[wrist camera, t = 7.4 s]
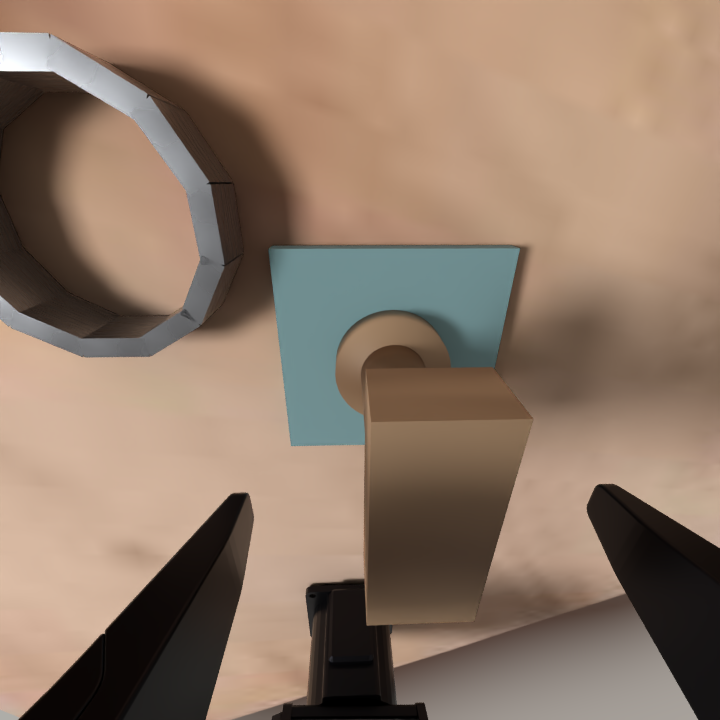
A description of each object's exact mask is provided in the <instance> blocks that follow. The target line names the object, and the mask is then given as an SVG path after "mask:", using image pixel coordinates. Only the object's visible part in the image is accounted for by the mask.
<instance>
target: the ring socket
mask: <svg viewBox="0 0 720 720" xmlns="http://www.w3.org/2000/svg"><path fill="white" fill-rule="evenodd" d="M44 92H89V93H90V94H92V95H94V96H95V97H97V98H99V99H101V100H102V101H104V102H106V103H107V104H109V105H111V106H112V107H114V108H116V109H117V110H119V111H121V112H122V113H124V114H126V115H127V116H129V117H131V118H133V119H134V120H135V121H136V123H137V124H138V126H139V127H140V128H141V130H142V131H143V132H144V134H145V135H146V136H147V138H148V139H149V141H150V142H151V143H152V145H153V146H154V147H155V149H156V150H157V152H158V153H159V154H160V156H161V157H162V158H163V160H164V161H165V162H166V164H167V165H168V167H169V168H170V169H171V171H172V172H173V173H174V175H175V176H176V178H177V179H178V180H179V182H180V183H181V184H182V186H183V187H184V188H185V190H186V193H187V198H188V202H189V207H190V212H191V217H192V222H193V227H194V231H195V236H196V241H197V246H198V251H199V256H200V262H199V265H198V267H197V270H196V273H195V276H194V278H193V281H192V284H191V287H190V289H189V292H188V295H187V298H186V300H185V303H184V306H183V307H182V308H180V309H179V310H177V311H175V312H174V313H172V314H171V315H169V316H119V315H117V314H115V313H113V312H110V311H108V310H106V309H104V308H101V307H99V306H97V305H95V304H92V303H90V302H88V301H86V300H83V299H81V298H79V297H77V296H75V295H72V294H70V293H68V292H67V291H66V290H65V289H64V288H63V287H62V286H61V285H60V284H59V283H58V282H57V281H56V280H55V279H54V278H53V277H52V276H51V275H50V274H49V273H48V272H47V271H46V270H45V269H44V268H43V267H42V266H41V265H40V264H39V263H38V262H37V261H36V260H35V259H34V258H33V257H32V256H31V255H30V254H29V253H28V252H27V251H26V250H25V249H24V248H23V247H22V244H21V242H20V240H19V237H18V235H17V233H16V230H15V228H14V226H13V224H12V221H11V219H10V217H9V214H8V212H7V210H6V207H5V205H4V203H3V201H2V198H1V196H0V319H1V320H2V321H3V322H4V323H5V324H6V325H7V326H11V328H12V329H15V330H17V331H20V332H22V333H25V334H27V335H30V336H32V337H35V338H37V339H40V340H42V341H44V342H47V343H49V344H52V345H54V346H57V347H59V348H62V349H64V350H67V351H69V352H72V353H74V354H76V355H79V356H81V357H83V356H84V357H150V356H152V355H154V354H156V353H157V352H159V351H161V350H162V349H164V348H165V347H167V346H169V345H170V344H172V343H174V342H175V341H177V340H178V339H180V338H182V337H183V336H185V335H187V334H188V333H190V332H191V331H193V330H195V329H196V328H198V327H200V326H201V325H202V324H203V323H204V322H205V321H206V320H207V319H208V318H209V317H210V316H211V315H212V314H213V313H214V312H215V311H216V310H217V309H218V308H219V307H220V306H221V305H222V304H223V302H224V300H225V297H226V295H227V292H228V290H229V288H230V285H231V283H232V280H233V278H234V275H235V273H236V271H237V268H238V266H239V263H240V261H241V259H242V256H243V252H244V250H243V243H242V236H241V230H240V223H239V216H238V209H237V203H236V196H235V189H234V184H231V183H232V182H233V181H232V180H231V178H230V177H229V175H228V174H227V172H226V171H225V169H224V168H223V166H222V165H221V163H220V162H219V160H218V159H217V157H216V156H215V154H214V153H213V151H212V150H211V148H210V147H209V145H208V144H207V142H206V141H205V139H204V138H203V136H202V135H201V133H200V132H199V130H198V129H197V127H196V126H195V124H194V123H193V121H192V120H191V118H190V117H189V115H188V114H187V112H185V110H183V109H182V108H180V107H179V106H177V105H175V104H174V103H172V102H171V101H169V100H167V99H166V98H164V97H163V96H161V95H159V94H158V93H156V92H155V91H153V90H151V89H150V88H148V87H147V86H145V85H143V84H142V83H140V82H138V81H137V80H135V79H134V78H132V77H130V76H129V75H127V74H126V73H124V72H122V71H121V70H119V69H118V68H116V67H114V66H113V65H111V64H110V63H108V62H106V61H104V60H102V59H100V58H98V57H96V56H94V55H92V54H90V53H88V52H86V51H84V50H82V49H80V48H78V47H76V46H74V45H72V44H70V43H68V42H66V41H64V40H62V39H60V38H58V37H56V36H54V35H52V34H49V33H15V32H0V156H1V146H2V136H3V129H4V128H5V127H6V126H7V125H9V124H10V123H11V122H12V121H13V120H14V119H15V118H16V117H17V116H19V115H20V114H21V113H22V112H23V111H24V110H25V109H26V108H27V107H28V106H30V105H31V104H32V103H33V102H34V101H35V100H36V99H37V98H38V97H40V96H41V95H42V94H43V93H44Z"/></svg>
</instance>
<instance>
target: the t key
mask: <svg viewBox="0 0 720 720" xmlns="http://www.w3.org/2000/svg"><path fill="white" fill-rule="evenodd" d="M335 377H336V384H337V387H338V390H339V392H340V394H341V396H342V397H343V399H344V400H345V401H346V403H347V404H348V405H349V406H350V407H351V408H353V409H354V410H355V411H357V412H358V413H360V414H362V415H364V427H365V477H364V577H365V599H366V622H367V626H369V625H396V624H424V623H451V622H474V620H475V617H476V613H477V610H478V606H479V603H480V600H481V596H482V593H483V589H484V586H485V583H486V579H487V576H488V572H489V569H490V566H491V562H492V559H493V555H494V552H495V548H496V545H497V542H498V538H499V535H500V531H501V528H502V525H503V521H504V518H505V514H506V511H507V508H508V504H509V501H510V497H511V494H512V490H513V487H514V484H515V480H516V477H517V473H518V470H519V467H520V463H521V460H522V456H523V453H524V450H525V446H526V443H527V439H528V436H529V433H530V429H531V426H532V422H533V418H532V417H531V415H530V414H529V413H528V412H527V410H526V409H525V408H524V406H523V405H522V404H521V403H520V401H519V400H518V399H517V398H516V396H515V395H514V394H513V392H512V391H511V390H510V389H509V387H508V386H507V385H506V384H505V382H504V381H503V380H502V378H501V377H500V376H499V375H498V373H497V372H496V371H495V370H494V368H493V367H463V368H451V363H450V357H449V353H448V351H447V348H446V346H445V345H444V343H443V341H442V340H441V338H440V336H439V335H438V333H437V331H436V330H435V329H434V328H433V326H432V325H431V324H430V323H428V322H427V321H426V320H425V319H423V318H422V317H420V316H418V315H416V314H413V313H410V312H407V311H401V310H385V311H380V312H376V313H373V314H370V315H368V316H366V317H363V318H362V319H360V320H359V321H357V322H356V323H355V324H354V325H352V326H351V327H350V328H349V330H348V331H347V332H346V333H345V335H344V336H343V338H342V340H341V342H340V344H339V347H338V349H337V355H336V369H335Z"/></svg>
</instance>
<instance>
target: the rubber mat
mask: <svg viewBox="0 0 720 720" xmlns="http://www.w3.org/2000/svg"><path fill="white" fill-rule="evenodd" d="M268 251H269V259H270V268H271V276H272V285H273V294H274V302H275V311H276V320H277V328H278V337H279V346H280V354H281V363H282V371H283V380H284V389H285V397H286V406H287V415H288V423H289V432H290V441H291V446H319V445H365V427H364V415H362V414H360V413H358V412H357V411H355V410H354V409H353V408H351V407H350V406H349V405H348V404H347V403H346V401H345V400H344V399H343V397H342V396H341V394H340V392H339V390H338V387H337V384H336V377H335V369H336V355H337V349H338V347H339V344H340V342H341V340H342V338H343V336H344V335H345V333H346V332H347V331H348V330H349V328H350V327H351V326H352V325H354V324H355V323H356V322H357V321H359V320H360V319H362V318H363V317H366V316H368V315H370V314H373V313H376V312H380V311H385V310H401V311H407V312H410V313H413V314H416V315H418V316H420V317H422V318H423V319H425V320H426V321H427V322H428V323H430V324H431V325H432V326H433V328H434V329H435V330H436V331H437V333H438V335H439V336H440V338H441V340H442V341H443V343H444V345H445V346H446V348H447V351H448V353H449V357H450V363H451V368H463V367H493V368H494V369H495V364H496V359H497V355H498V350H499V345H500V341H501V336H502V331H503V326H504V322H505V317H506V312H507V307H508V303H509V298H510V293H511V288H512V284H513V279H514V274H515V270H516V265H517V260H518V255H519V251H520V248H518V247H515V246H512V245H312V246H271V247H270V248H269V249H268Z"/></svg>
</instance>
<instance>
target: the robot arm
mask: <svg viewBox="0 0 720 720" xmlns="http://www.w3.org/2000/svg"><path fill="white" fill-rule="evenodd" d="M587 513H588V516H589V518H590V520H591V523H592V525H593V527H594V529H595V531H596V533H597V536H598V538H599V540H600V542H601V544H602V546H603V549H604V551H605V553H606V555H607V557H608V559H609V562H610V564H611V566H612V568H613V570H614V572H615V574H616V576H617V578H618V580H619V581H620V583H621V585H622V587H623V589H624V590H625V592H626V594H627V595H628V597H629V599H630V601H631V602H632V604H633V606H634V608H635V610H636V611H637V613H638V615H639V616H640V618H641V620H642V622H643V624H644V625H645V627H646V629H647V631H648V632H649V634H650V636H651V638H652V639H653V641H654V643H655V644H656V646H657V648H658V650H659V652H660V653H661V655H662V657H663V659H664V660H665V662H666V664H667V666H668V667H669V669H670V671H671V673H672V674H673V676H674V678H675V680H676V681H677V683H678V685H679V687H680V688H681V690H682V692H683V694H684V695H685V697H686V699H687V701H688V702H689V704H690V706H691V708H692V709H693V711H694V713H695V715H696V716H697V718H698V720H720V548H718V547H717V546H715V545H714V544H712V543H710V542H709V541H707V540H705V539H704V538H702V537H700V536H699V535H697V534H696V533H694V532H692V531H691V530H689V529H687V528H686V527H684V526H683V525H681V524H679V523H678V522H676V521H674V520H673V519H671V518H669V517H668V516H666V515H665V514H663V513H661V512H660V511H658V510H656V509H655V508H653V507H652V506H650V505H648V504H647V503H645V502H643V501H642V500H640V499H638V498H637V497H635V496H634V495H632V494H630V493H629V492H627V491H625V490H624V489H622V488H621V487H619V486H617V485H614V484H599V485H597V486H596V487H595V488H594V491H593V493H592V495H591V497H590V500H589V502H588V504H587ZM253 521H254V514H253V509H252V504H251V500H250V496H249V494H248V493H232V494H231V495H230V496H229V497H228V498H227V499H226V500H225V501H224V502H223V503H222V504H221V505H220V506H219V507H218V508H217V510H216V511H215V512H214V513H213V514H212V515H211V516H210V517H209V518H208V519H207V520H206V521H205V523H204V524H203V525H202V526H201V527H200V528H199V529H198V530H197V531H196V532H195V533H194V534H193V536H192V537H191V538H190V539H189V540H188V541H187V542H186V543H185V544H184V545H183V546H182V547H181V549H180V550H179V551H178V552H177V553H176V554H175V555H174V556H173V557H172V558H171V559H170V560H169V562H168V563H167V564H166V565H165V566H164V567H163V568H162V569H161V570H160V571H159V572H158V573H157V575H156V576H155V577H154V578H153V579H152V580H151V581H150V582H149V583H148V584H147V585H146V586H145V588H144V589H143V590H142V591H141V592H140V593H139V594H138V595H137V596H136V597H135V598H134V599H133V601H132V602H131V603H130V604H129V605H128V606H127V607H126V608H125V609H124V610H123V611H122V612H121V614H120V615H119V616H118V617H117V618H116V619H115V620H114V621H113V622H112V623H111V624H110V625H109V627H108V628H107V629H106V630H105V634H101V635H100V636H99V637H98V638H97V639H96V640H95V641H94V643H93V644H92V645H91V646H90V647H89V648H88V649H87V650H86V651H85V652H84V653H83V654H82V655H81V657H80V658H79V659H78V660H77V661H76V662H75V663H74V664H73V665H72V666H71V667H70V668H69V669H68V670H67V671H66V672H65V673H64V674H63V675H62V676H61V677H60V679H59V680H58V681H57V682H56V683H55V684H54V685H53V686H52V687H51V688H50V689H49V690H48V691H47V692H46V693H45V694H44V695H43V696H42V697H41V698H40V699H39V700H38V701H37V702H36V703H35V704H34V705H33V706H32V707H31V708H30V709H29V710H28V711H27V712H25V713H24V714H23V715H22V716H21V717H20V718H19V720H206V716H207V712H208V709H209V705H210V702H211V698H212V695H213V691H214V687H215V684H216V680H217V677H218V673H219V669H220V666H221V662H222V659H223V655H224V652H225V648H226V644H227V641H228V637H229V634H230V630H231V627H232V623H233V619H234V616H235V612H236V609H237V605H238V602H239V598H240V594H241V590H242V585H243V580H244V575H245V569H246V563H247V557H248V551H249V546H250V540H251V534H252V528H253ZM306 603H307V611H308V619H309V628H310V636H311V637H312V641H311V654H310V666H309V679H308V692H307V705H292V703H284V705H283V712H281V713H279V714H276V715H274V716H273V717H272V720H428V717H427V712H426V708H425V704H424V703H415V705H397V701H396V691H395V681H394V671H393V659H392V649H391V638H390V634H391V633H392V625H369V626H367V622H366V599H365V584H363V585H333V586H310V587H308V588H307V589H306Z"/></svg>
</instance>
